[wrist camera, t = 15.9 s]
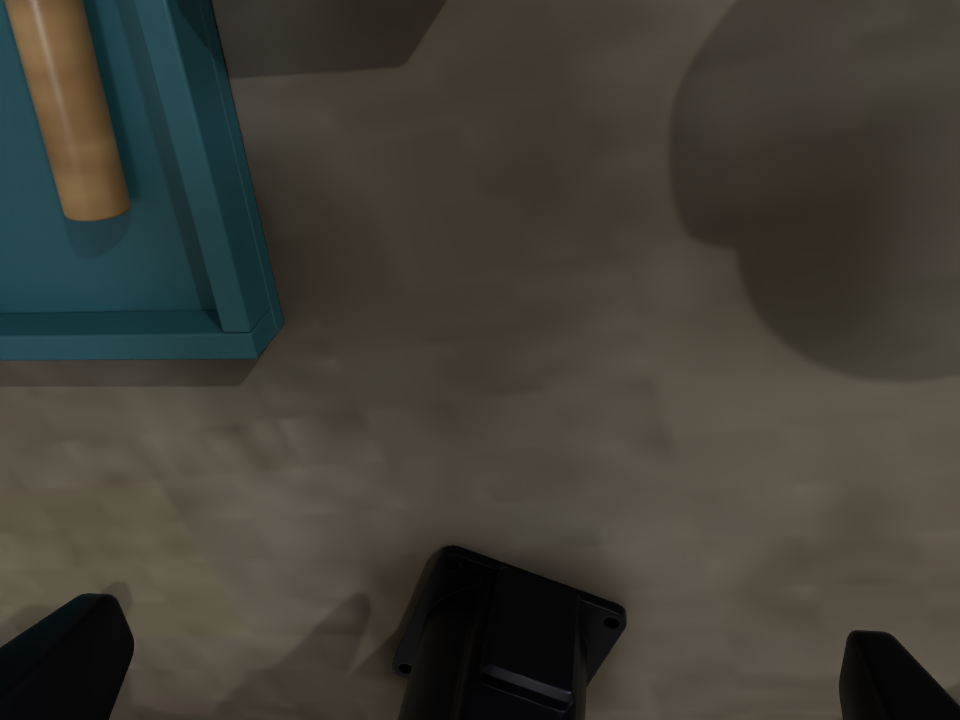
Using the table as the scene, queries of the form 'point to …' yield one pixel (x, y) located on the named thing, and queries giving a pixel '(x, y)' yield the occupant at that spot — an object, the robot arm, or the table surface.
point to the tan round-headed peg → (70, 106)
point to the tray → (137, 206)
